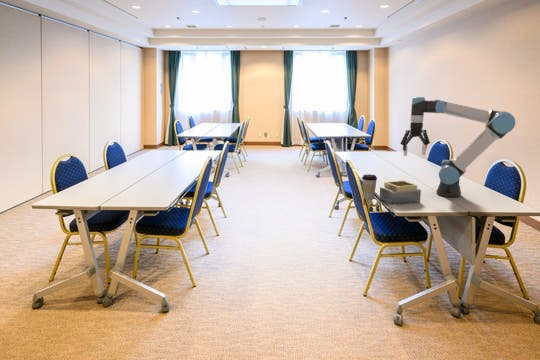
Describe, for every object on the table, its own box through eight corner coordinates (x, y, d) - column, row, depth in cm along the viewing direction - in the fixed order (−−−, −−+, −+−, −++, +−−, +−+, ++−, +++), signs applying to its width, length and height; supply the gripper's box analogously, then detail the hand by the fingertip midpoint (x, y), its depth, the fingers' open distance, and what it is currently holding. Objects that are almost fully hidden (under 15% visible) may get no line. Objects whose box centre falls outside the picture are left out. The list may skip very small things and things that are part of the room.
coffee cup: (373, 201, 271) (375, 177, 268) (359, 199, 276) (360, 176, 272) (377, 198, 279) (379, 175, 276) (363, 196, 284) (364, 173, 280)
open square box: (406, 196, 282) (407, 180, 280) (419, 202, 269) (421, 185, 267) (379, 199, 276) (380, 182, 274) (391, 204, 263) (392, 187, 261)
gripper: (429, 121, 282) (427, 153, 287) (396, 121, 275) (394, 155, 280) (437, 121, 275) (434, 155, 280) (403, 122, 268) (400, 157, 273)
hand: (414, 155), depth 280 cm, fingers open, 13 cm apart
